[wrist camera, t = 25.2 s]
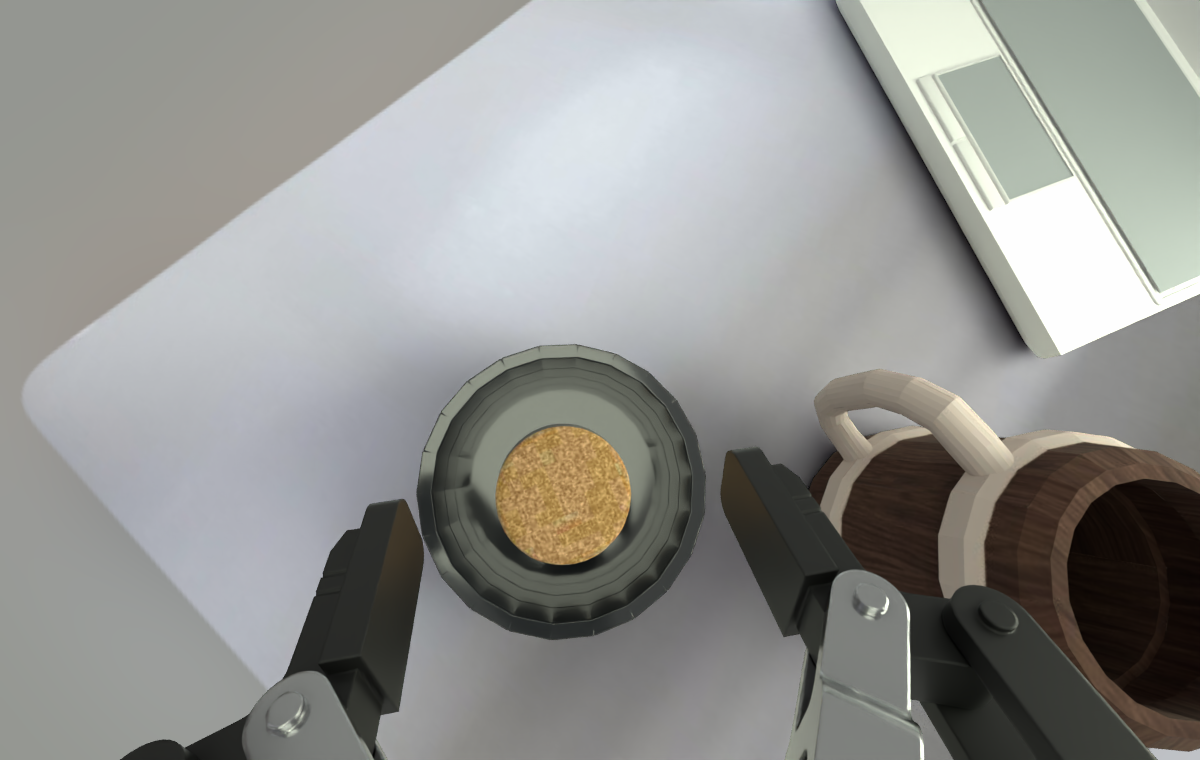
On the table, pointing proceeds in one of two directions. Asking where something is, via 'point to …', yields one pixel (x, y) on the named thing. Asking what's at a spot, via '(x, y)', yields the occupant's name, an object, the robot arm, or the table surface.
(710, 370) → the table surface
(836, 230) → the table surface
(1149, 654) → the mug
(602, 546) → the bottle
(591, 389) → the pot
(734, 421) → the table surface
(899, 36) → the laptop
